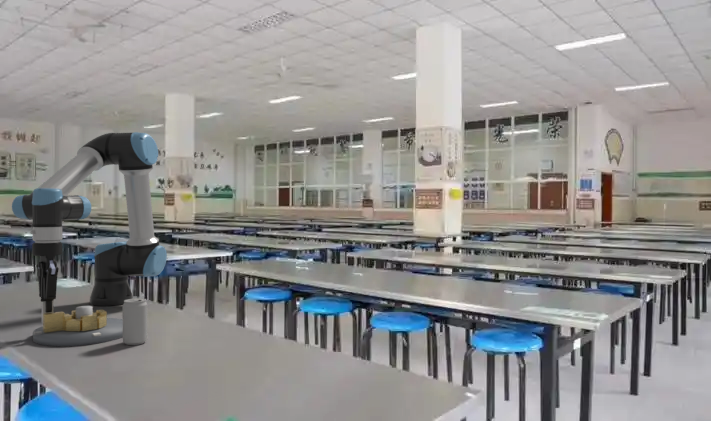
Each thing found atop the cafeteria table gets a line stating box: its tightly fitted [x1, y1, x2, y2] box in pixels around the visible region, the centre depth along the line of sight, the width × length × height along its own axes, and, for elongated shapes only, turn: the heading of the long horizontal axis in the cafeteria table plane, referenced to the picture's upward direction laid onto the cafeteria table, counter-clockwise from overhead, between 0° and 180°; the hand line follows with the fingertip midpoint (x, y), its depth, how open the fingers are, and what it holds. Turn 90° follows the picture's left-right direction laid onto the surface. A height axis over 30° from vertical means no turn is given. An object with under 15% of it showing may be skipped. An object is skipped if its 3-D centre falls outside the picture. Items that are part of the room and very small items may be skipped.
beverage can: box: [122, 298, 148, 346], centre depth 150 cm, size 6×6×12 cm
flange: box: [32, 305, 123, 347], centre depth 159 cm, size 26×26×8 cm
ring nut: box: [42, 309, 108, 333], centre depth 157 cm, size 16×11×5 cm
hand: (47, 322), depth 156 cm, fingers closed
